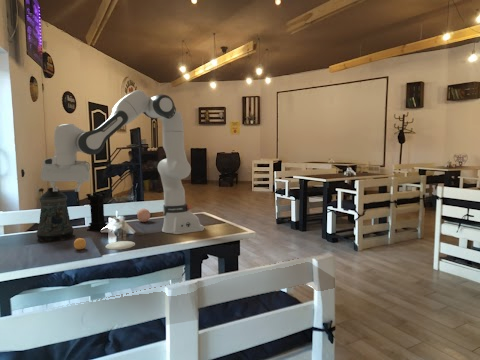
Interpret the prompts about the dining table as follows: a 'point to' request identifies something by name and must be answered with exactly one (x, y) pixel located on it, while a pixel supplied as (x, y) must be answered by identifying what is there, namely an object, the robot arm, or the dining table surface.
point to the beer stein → (54, 217)
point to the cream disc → (120, 245)
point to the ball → (79, 243)
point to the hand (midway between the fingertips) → (66, 191)
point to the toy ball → (143, 215)
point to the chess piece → (96, 211)
